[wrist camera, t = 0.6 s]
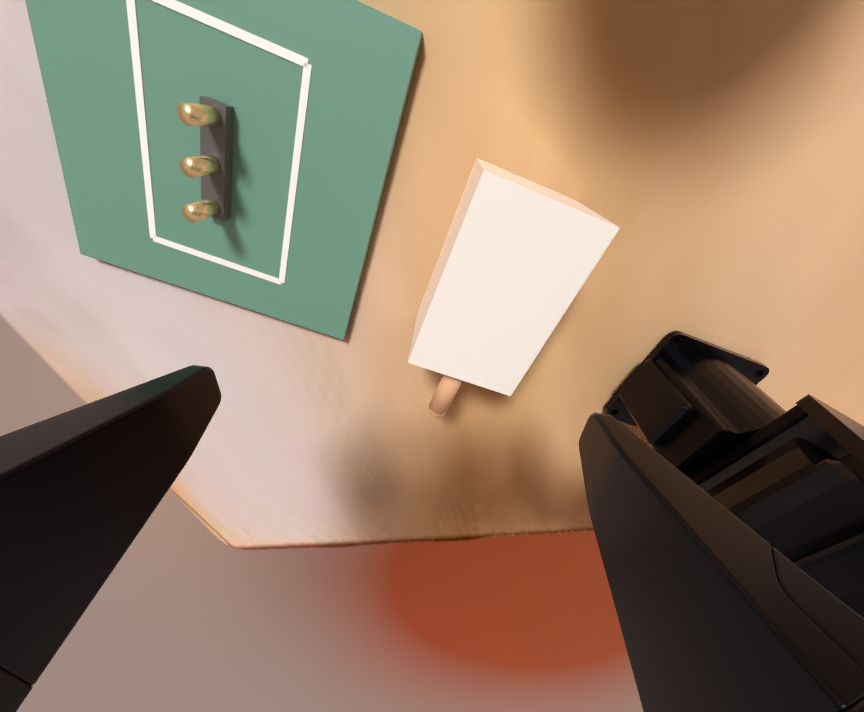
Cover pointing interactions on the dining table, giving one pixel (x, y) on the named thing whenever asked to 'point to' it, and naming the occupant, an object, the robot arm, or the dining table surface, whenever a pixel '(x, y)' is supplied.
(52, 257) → the dining table surface
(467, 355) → the block
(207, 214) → the pin board
